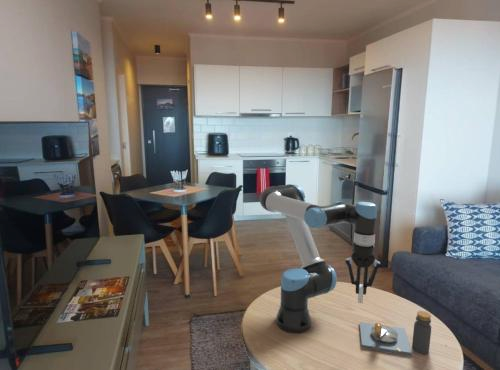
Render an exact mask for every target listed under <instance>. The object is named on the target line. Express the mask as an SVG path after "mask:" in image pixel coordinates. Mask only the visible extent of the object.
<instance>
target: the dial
mask: <svg viewBox="0 0 500 370" xmlns="http://www.w3.org/2000/svg"><path fill="white" fill-rule="evenodd" d="M374 324H375V326H373V327H372V328H371V335H372V337H373V338H374V339H376V340H378V341H380V342H383V343H389V344H390V343H395V342H396V341H397V339H398V334H397V332H396V331H395V330H394V329H392V328H390V327H388V326H389V325H385V326H384V324H381V323H378V322H376V323H374Z"/></svg>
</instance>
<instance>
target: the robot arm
mask: <svg viewBox="0 0 500 370" xmlns="http://www.w3.org/2000/svg"><path fill="white" fill-rule="evenodd" d="M259 203H260V206H261V207H262V208H263V209H264V210H265V211H267V212H270V213H280V214H281V215H282V216H284V217H285V219H286V221H287V223H288V224H287V225H288V227H289V229H290V232H291V235H292V237H293V240H294V244H295V246H296V249H297V252H298V254H299V257H300V260H301V263H302V265H301V267H297V268H296V267H293V268H289V269H287V270H285V271H284V272H283V273H282V275H281V277H280V279H281V280H280V305H279V307H278V312H277V314H276V318H275V319H276V320H275V322H276V326H278V328H280V329H281V330H283V331H284V332H287V333H292V334H300V333H304V332H306V331H308V330H309V329H310V328H311V326H312V319H311V314H310V312H309V308H308V304H309V303H308V302H309V299H311V298H312V299H313V298H315V297H318V296H321V295H325V294H327V293H329V292H332V291H333V290H335V288H336V285H337V282H338V279H337V277H338V276H337V273H336V271H335V269H334V268H333V267H332V265H328V264H327V263H326V260H325V259H323V258H321V256H320V254H319V251H318V248H317V245H316V243H315V240H314V238H313V235H312V233H311V230H310V229H320V228H323V227H328V226H334V225H339V224H342V223H343V224H344V223H345V224H349V225H352V226H354V227H353V228H354V231H353V243H352V244H353V247H352V254H351V256H350V257H349V258H348V257H347V258H345V264H346V265H347V268H348V271H349V272H348V273H349V277H350V282H351V285H354V286H355V294H356V295H357V302H358V304H363V303H364V302H363V301H364V295H365V296H366V294H367V288H368V287H372V285H373V284H374V281H375V278H376V275H377V272H378V269H379V268H380V267H382V266H381V265H382V264H381V262H380V261H379V260H377V259H376V258H375V242H376V225H377V224H376V223H377V218H378V211H377V210H378V208H377V207H378V206H377V204H375V203H373V202H368V201H358V202H356V204H351V203H347V202H345V201H333V202H332V204H331V205H321V206H320V205H317V204H314V203H310V202H306V194H305V191H304V190H303V188H302V187H301V186H300V185H298V184H288V183H287V184H284V185H273V186H268V187H266V188H264V189H263V191H262V192H261V193H260V196H259ZM353 263H354V265H355V266H356V276H355V277H354V272H353V267H352V265H353ZM372 264H373V266H372ZM370 266H372V269H371V272H370V275H368V274H369V273H368V272H369V268H370ZM362 268H363V278H362V284H361V282H360V281H361V271H362ZM368 276H369V277H368Z"/></svg>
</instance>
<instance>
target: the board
mask: <svg viewBox="0 0 500 370" xmlns="http://www.w3.org/2000/svg"><path fill="white" fill-rule="evenodd" d="M383 325H384V324H383ZM373 326H375V323H370V322H363V321H359V334H360V335H359V336H360V343H361V344H360V346H361V349H364V350H371V351H375V352H376V351H377V352H383V353H388V354H393V355H394V354H395V355H400V356H407V357H413V352H412V346H411V344H410V341H409V338H408V336H407V332H406V328H404V327H397V326H390V325H387V326H388V327H390V328H392V329H394V330H395V331H396V332H397V334H398V339H397V341H396V342H395V343H390V344H389V343H383V342H380V341H378V340H376V339H374V338H373V337H372V335H371V328H372V327H373ZM384 326H386V325H384Z"/></svg>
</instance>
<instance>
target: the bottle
mask: <svg viewBox="0 0 500 370" xmlns="http://www.w3.org/2000/svg"><path fill="white" fill-rule="evenodd" d="M431 317H432V314H431V313H429V312H427V311H425V310H418V311H416V317H415V321H414V325H413V334H412V342H411V343H412V345H411V350H413V351H414V352H415V353H417V354H420V355H428V354H429V353H430V345H431V337H432V334H431V333H432V325H431V323H432V319H431Z"/></svg>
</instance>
